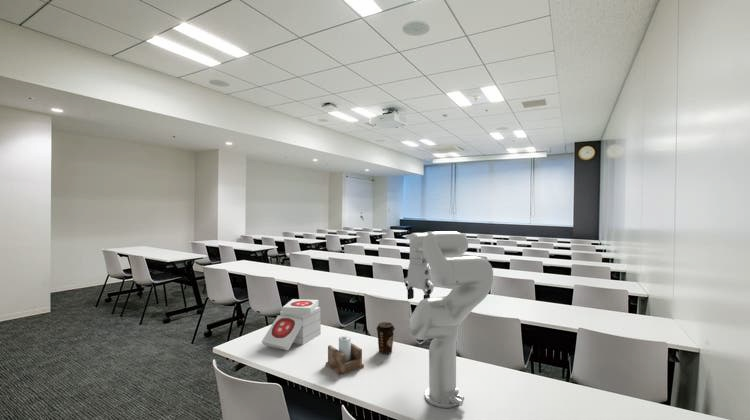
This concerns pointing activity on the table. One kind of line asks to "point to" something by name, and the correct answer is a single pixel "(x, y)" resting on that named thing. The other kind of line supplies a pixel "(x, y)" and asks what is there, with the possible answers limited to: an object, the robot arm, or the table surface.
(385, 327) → the coffee cup
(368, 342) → the table surface
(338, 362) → the holder
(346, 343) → the roll
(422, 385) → the table surface
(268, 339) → the pizza box stack
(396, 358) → the table surface
